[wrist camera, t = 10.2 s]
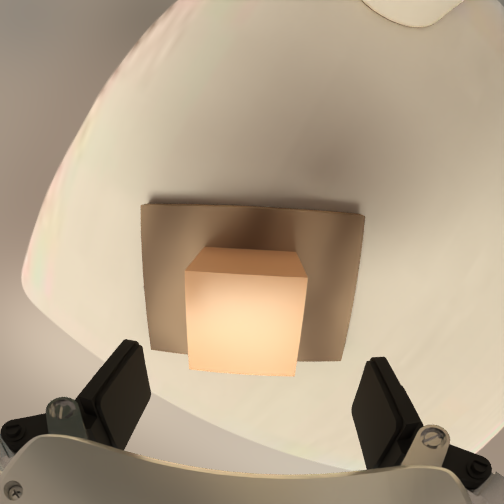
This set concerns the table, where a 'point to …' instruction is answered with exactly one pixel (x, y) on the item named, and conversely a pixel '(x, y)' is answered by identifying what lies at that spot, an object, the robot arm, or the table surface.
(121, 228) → the table surface
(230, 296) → the light orange cube
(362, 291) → the table surface
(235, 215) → the base plate
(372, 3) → the wine bottle
